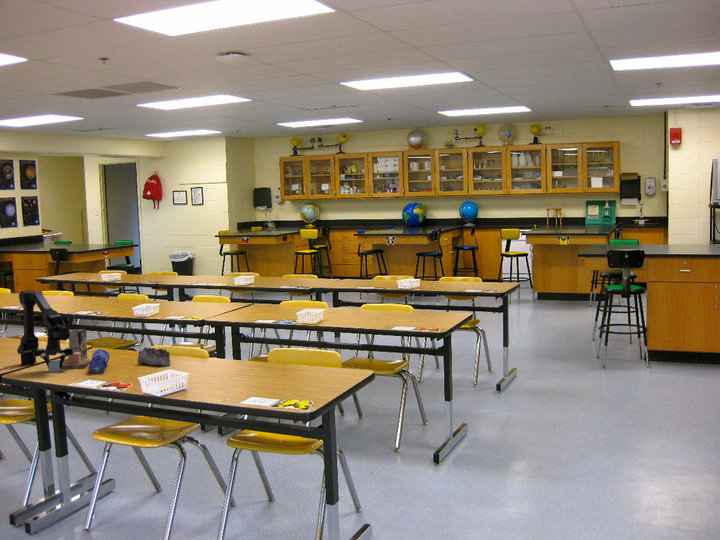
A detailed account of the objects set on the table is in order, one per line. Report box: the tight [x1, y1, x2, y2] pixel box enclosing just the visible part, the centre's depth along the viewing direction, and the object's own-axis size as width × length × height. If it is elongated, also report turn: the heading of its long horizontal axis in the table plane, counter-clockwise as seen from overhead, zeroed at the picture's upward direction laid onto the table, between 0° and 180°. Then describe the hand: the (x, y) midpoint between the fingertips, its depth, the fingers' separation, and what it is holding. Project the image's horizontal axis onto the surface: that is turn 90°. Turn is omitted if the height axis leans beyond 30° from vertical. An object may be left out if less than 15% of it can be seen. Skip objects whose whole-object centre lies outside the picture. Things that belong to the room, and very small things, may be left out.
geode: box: [137, 347, 171, 368], centre depth 362 cm, size 20×12×10 cm, turn 63°
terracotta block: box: [68, 352, 81, 364], centre depth 358 cm, size 5×5×5 cm
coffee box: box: [68, 328, 88, 360], centre depth 375 cm, size 9×6×16 cm
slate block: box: [48, 359, 62, 373], centre depth 348 cm, size 5×5×5 cm
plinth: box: [61, 359, 91, 370], centre depth 358 cm, size 12×12×2 cm
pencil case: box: [88, 348, 110, 374], centre depth 351 cm, size 22×9×10 cm, turn 17°
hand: (55, 368), depth 349 cm, fingers closed on slate block, 5 cm apart
